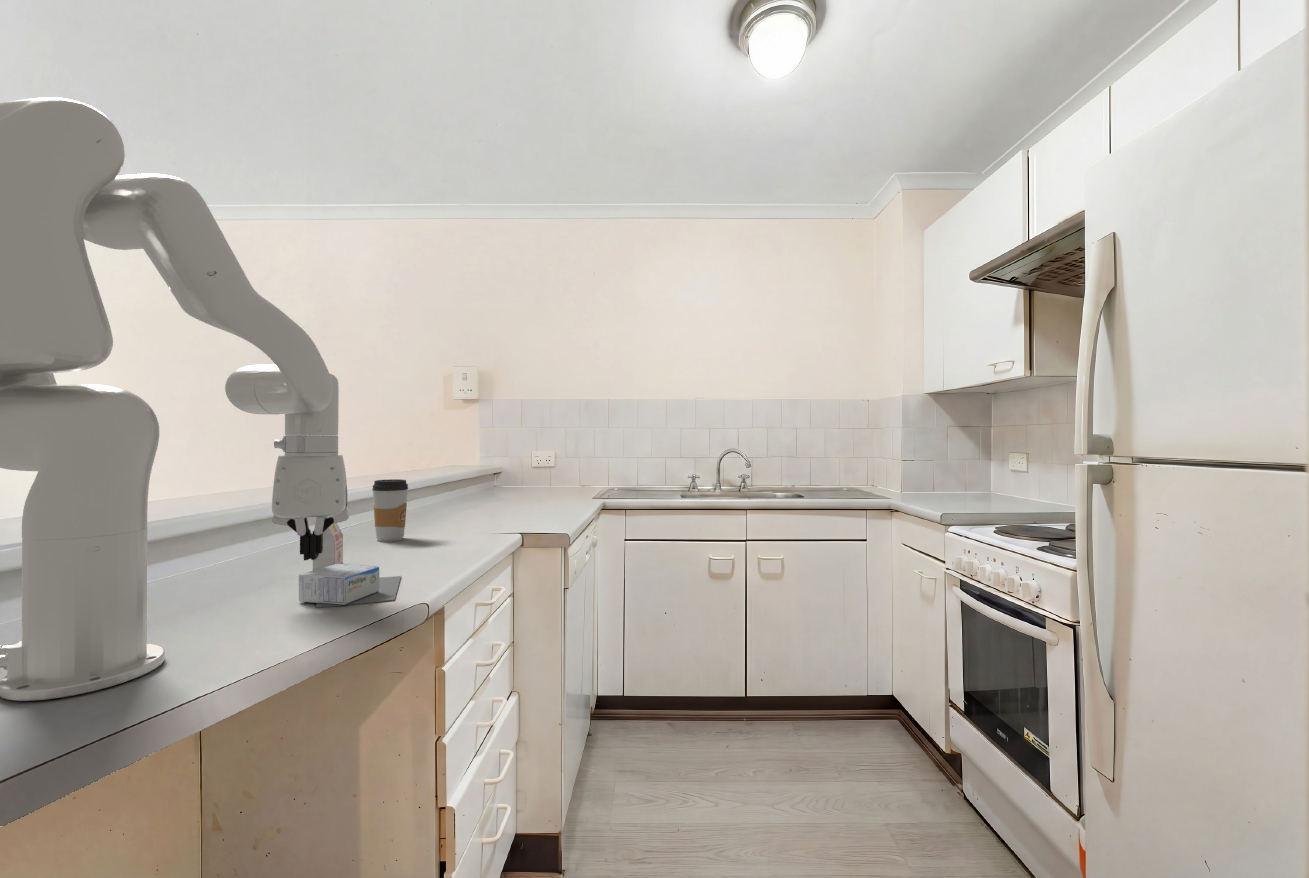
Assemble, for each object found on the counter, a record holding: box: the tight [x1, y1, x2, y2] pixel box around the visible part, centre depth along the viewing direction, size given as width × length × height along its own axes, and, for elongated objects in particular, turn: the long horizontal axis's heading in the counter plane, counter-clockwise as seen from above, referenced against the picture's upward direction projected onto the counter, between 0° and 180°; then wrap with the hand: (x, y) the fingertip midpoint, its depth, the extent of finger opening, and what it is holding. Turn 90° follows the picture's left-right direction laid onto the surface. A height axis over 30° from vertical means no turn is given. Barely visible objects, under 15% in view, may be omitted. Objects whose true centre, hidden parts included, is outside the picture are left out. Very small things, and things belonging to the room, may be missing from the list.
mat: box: [314, 575, 402, 609], centre depth 94 cm, size 11×16×1 cm
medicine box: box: [298, 563, 380, 606], centre depth 90 cm, size 8×4×9 cm
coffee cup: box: [371, 478, 409, 543], centre depth 141 cm, size 8×8×15 cm
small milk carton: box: [312, 516, 344, 571], centre depth 110 cm, size 4×7×10 cm, turn 17°
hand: (311, 558), depth 91 cm, fingers closed
